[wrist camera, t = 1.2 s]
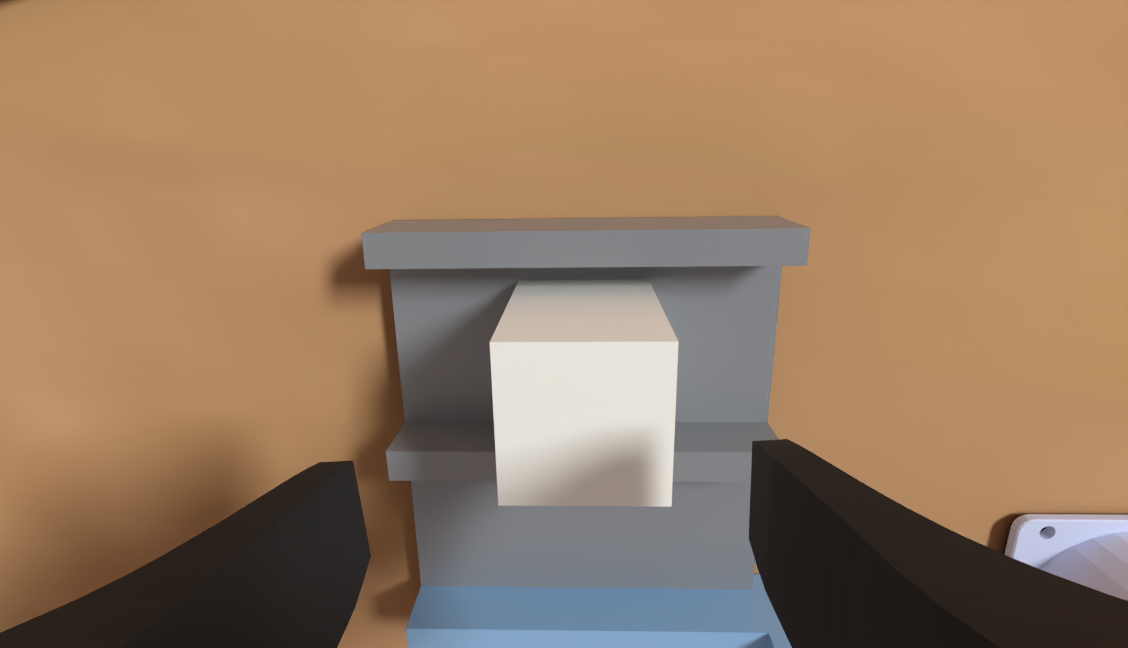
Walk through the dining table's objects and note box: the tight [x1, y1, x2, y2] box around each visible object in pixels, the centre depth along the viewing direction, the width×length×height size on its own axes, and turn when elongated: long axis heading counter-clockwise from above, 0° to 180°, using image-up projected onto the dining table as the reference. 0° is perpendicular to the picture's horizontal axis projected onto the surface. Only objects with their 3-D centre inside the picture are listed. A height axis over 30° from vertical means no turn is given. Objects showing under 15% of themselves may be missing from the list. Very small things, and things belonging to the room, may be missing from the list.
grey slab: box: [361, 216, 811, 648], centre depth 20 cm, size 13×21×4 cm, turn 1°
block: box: [490, 280, 679, 507], centre depth 16 cm, size 4×4×6 cm
